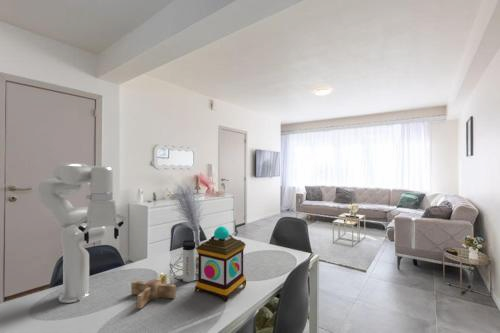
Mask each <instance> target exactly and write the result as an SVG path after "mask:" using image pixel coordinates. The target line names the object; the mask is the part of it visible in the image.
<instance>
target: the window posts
mask: <svg viewBox="0 0 500 333" xmlns="http://www.w3.org/2000/svg"><path fill="white" fill-rule="evenodd" d="M163 274H164V273H163V272H160V273H159V277H160V276H161V275H163ZM174 276H175V275H174V273H170V274H169V284H172V285H175V284H174V283H175V282H174V280H175V279H174V278H175V277H174Z"/></svg>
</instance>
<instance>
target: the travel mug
mask: <svg viewBox="0 0 500 333" xmlns="http://www.w3.org/2000/svg"><path fill="white" fill-rule="evenodd" d="M196 248H197V247H196V241H194V240H190V239H189V240H188V239H185V240H183V241H182V281H183V282H186V283H189V282H193V281H195V280H196V273H197V272H196V271H197V270H196V267H197V266H196V261H197V260H196V255H197V254H196V253H197V250H196Z"/></svg>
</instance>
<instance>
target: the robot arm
mask: <svg viewBox="0 0 500 333" xmlns="http://www.w3.org/2000/svg"><path fill="white" fill-rule="evenodd" d="M51 173H52V176H53V177H54V178H48V179H44V180H42V181H40V182H39V183H38V184H37V188H36V190H37V195H38V199H39V201H40V202H41V203H42V205H43V206H44V207H45V208H47V210H48V211H49V212H50V215H51V216H52V218H53V220H54V222H55V223H56V225H57V227H58V228H59V229H61V232H60V233H59V236H60V237H59V239H60V243H61V249H62V293H61V294H60V295H59V296H58V302H60V303H64V304H70V303H76V302H77V303H78V302H80V300H81V299H84V298H86V297H88V296H89V295H90V289H91V288H92V286H90V252H89V251H88V250H87V249H86V248H85V247H84V246H85V245H88V244H93V243H96V242H100V241H102V240H104V239H105V238H106V236H107V232H108V231H107V227H112V226H114V228H113V238H114V240H117V239H118V237H119V235H120V234H119V233H120V232H119V230H120V228H121V227H122V226H123V225H124V223H125V221H126V219H127V217H126V216H125V215H122V214H120V213H118V212H117V204H116V200H115V199H113V198H114V196H113V195H114V191H113V190H114V189H113V188H114V187H113V185H114V184H113V183H114V182H113V181H114V180H113V177H114V175H113V174H114V173H113V168H112V167H111V166H103V165H87V164H86V163H83V162H61V163H58V164H56V165H55V166H54V167H53V169H52V172H51ZM85 185H90V194H88V195H86V196H85V197H86V198H85V199H86V200H90V201H88V204H87V206H80V207H79V206H78V207H75V206H73V205H72V203H71V201H69V200H68V199H67V198H65V197H63V196H69V195H72V196H73V195H77V194H79V193H81V192H82V191H83V189H84V187H86V186H85ZM118 219H121V220H120V221H119V222H118Z"/></svg>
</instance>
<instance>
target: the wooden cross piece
mask: <svg viewBox="0 0 500 333" xmlns="http://www.w3.org/2000/svg"><path fill="white" fill-rule="evenodd" d="M167 277H168V276H167V273H163V275H161V276H160V275H159V277H157V278H156V279H151V280H148V281H137V280H133V281H131V283H130V284H131V287H130V288H131V289H130V290H131V291H130V292H131V293H130V294H131V295H136V296H137V309H143V308H144V307H145V306H146V305H147V304H148V303H149V302H150V301H154V300H158V299H159V298H166V299H175V298H176V296H177V290H176V289H177V286H176V284H173V285H172V284H170V283H167V282H168V281H167Z"/></svg>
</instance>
